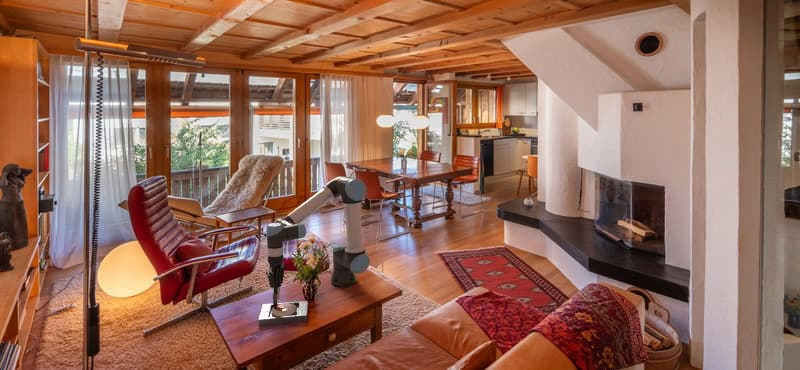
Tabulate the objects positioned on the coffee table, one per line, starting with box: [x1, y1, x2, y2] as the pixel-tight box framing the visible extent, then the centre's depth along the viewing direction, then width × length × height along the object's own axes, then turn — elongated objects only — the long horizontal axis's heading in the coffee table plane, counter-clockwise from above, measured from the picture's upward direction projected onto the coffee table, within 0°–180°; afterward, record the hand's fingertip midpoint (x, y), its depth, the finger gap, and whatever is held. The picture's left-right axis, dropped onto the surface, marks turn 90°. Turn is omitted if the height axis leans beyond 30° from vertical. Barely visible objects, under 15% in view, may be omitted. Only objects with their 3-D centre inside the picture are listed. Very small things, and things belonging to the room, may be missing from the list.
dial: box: [272, 292, 297, 317], centre depth 204 cm, size 12×12×9 cm
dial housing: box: [258, 300, 309, 327], centre depth 205 cm, size 22×16×4 cm
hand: (277, 298), depth 209 cm, fingers closed
